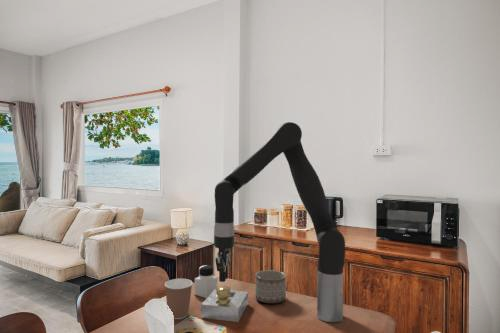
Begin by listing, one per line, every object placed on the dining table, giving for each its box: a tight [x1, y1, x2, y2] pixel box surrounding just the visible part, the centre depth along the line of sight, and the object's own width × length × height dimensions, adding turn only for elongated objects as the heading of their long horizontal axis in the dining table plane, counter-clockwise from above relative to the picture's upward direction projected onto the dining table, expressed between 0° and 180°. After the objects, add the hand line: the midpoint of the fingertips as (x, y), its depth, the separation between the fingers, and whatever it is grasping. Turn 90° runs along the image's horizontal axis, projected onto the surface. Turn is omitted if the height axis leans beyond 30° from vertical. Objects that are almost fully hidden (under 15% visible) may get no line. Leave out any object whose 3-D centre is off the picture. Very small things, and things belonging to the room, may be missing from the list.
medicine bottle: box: [194, 264, 218, 299], centre depth 149 cm, size 7×7×12 cm
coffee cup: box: [164, 278, 194, 320], centre depth 129 cm, size 10×10×12 cm
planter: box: [254, 269, 287, 304], centre depth 145 cm, size 13×13×10 cm
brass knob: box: [216, 285, 232, 305], centre depth 129 cm, size 5×5×10 cm
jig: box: [200, 289, 249, 323], centre depth 133 cm, size 14×16×5 cm
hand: (223, 279), depth 129 cm, fingers open, 2 cm apart
